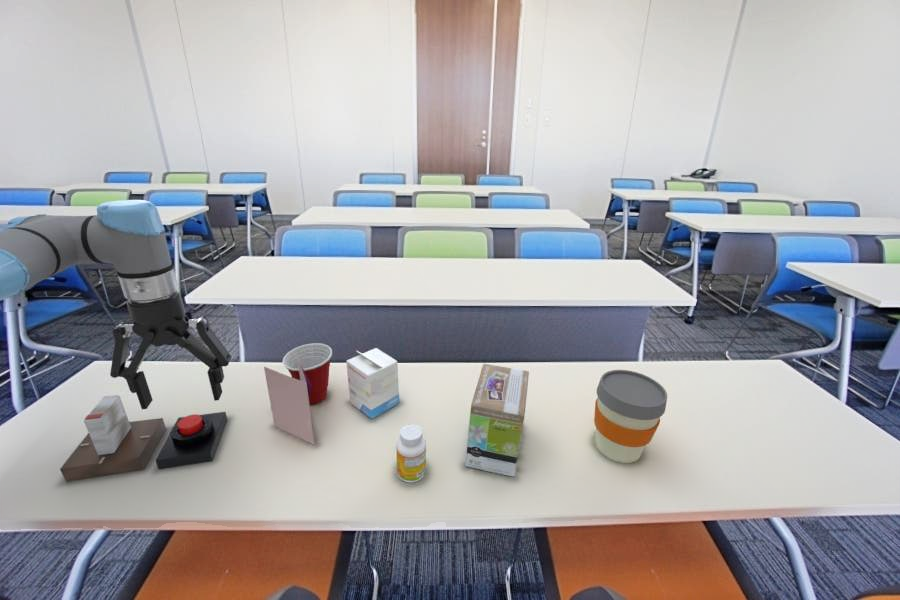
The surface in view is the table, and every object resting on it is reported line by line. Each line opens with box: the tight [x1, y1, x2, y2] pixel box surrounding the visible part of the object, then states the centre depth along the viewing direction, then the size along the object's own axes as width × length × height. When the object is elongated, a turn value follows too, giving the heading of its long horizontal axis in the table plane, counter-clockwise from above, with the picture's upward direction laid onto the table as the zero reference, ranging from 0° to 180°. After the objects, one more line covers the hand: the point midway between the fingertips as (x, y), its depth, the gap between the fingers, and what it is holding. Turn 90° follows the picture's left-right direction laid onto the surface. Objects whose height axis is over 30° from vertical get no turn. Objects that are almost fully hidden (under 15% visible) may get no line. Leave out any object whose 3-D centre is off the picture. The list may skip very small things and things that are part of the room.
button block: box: [155, 411, 228, 470], centre depth 79 cm, size 9×12×4 cm
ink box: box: [346, 347, 400, 420], centre depth 91 cm, size 9×8×13 cm
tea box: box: [464, 363, 530, 478], centre depth 79 cm, size 15×10×15 cm, turn 167°
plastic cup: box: [282, 342, 333, 406], centre depth 92 cm, size 11×11×12 cm
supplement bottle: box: [395, 423, 427, 483], centre depth 73 cm, size 5×5×10 cm
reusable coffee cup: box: [593, 369, 668, 464], centre depth 80 cm, size 13×13×15 cm
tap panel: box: [59, 417, 167, 482], centre depth 76 cm, size 12×11×3 cm
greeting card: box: [263, 356, 315, 446], centre depth 81 cm, size 11×7×15 cm, turn 28°
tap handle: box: [83, 394, 131, 455], centre depth 74 cm, size 7×2×8 cm, turn 15°
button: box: [178, 414, 203, 435], centre depth 78 cm, size 4×4×2 cm
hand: (183, 400), depth 76 cm, fingers open, 11 cm apart
